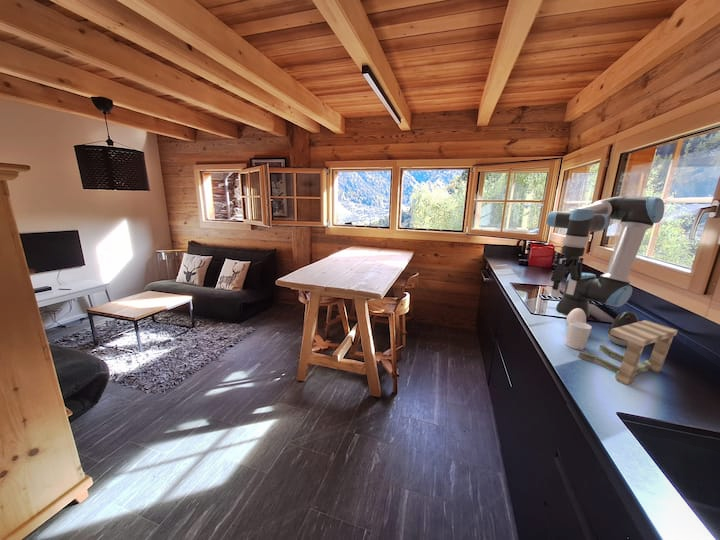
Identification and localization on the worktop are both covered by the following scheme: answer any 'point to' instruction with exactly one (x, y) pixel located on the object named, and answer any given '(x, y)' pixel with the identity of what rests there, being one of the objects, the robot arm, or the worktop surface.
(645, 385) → the worktop surface
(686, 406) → the worktop surface
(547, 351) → the worktop surface
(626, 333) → the wooden slatted bench
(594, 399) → the worktop surface
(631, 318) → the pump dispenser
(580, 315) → the egg
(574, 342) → the white cup
